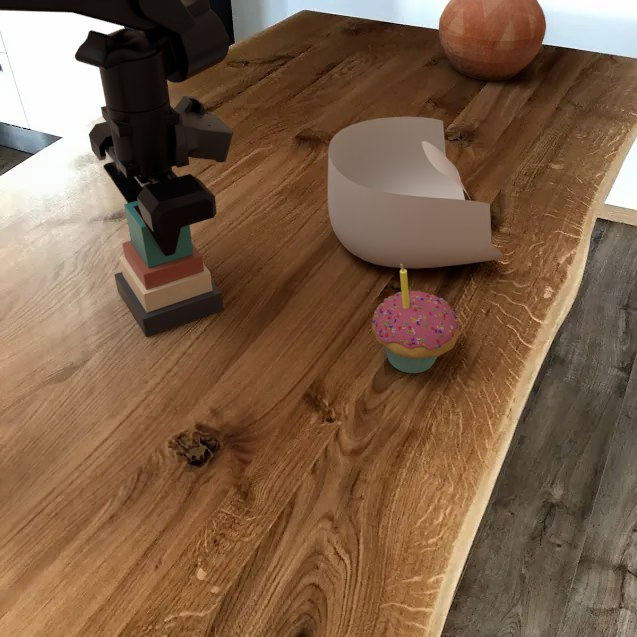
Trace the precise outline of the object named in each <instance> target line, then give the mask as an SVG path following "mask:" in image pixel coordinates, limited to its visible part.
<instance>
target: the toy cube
mask: <svg viewBox="0 0 637 637" xmlns="http://www.w3.org/2000/svg"><path fill="white" fill-rule="evenodd" d="M137 205H138V201H135V202H131V203H127V202H126V203H124V205H123V207H124V212H125V216H126V223H127V227H128V232H129V237H130V241H131V244H132V245H133V247H134V248H135V250H136V251H137V253H138V254H139V256H140V257H141V258H142V260H143V261H144V263H145V264H146V266H147V267H148V268H151V267H154V266H157V265H161V264H164V263H167V262H170V261H173V260H176V259H180V258H183V257H186V256H189V255H192V254H193V248H192V244H193V240H192V234H191V225H188V226H184V227H181V231H180V235H179V239H178V244H177V248H176V252H175V254H173V255H170V256H165V255H164V254H163V252H162V251H161V249H160V248H159V246H158V245H157V243H156V242H155V240H154V238H153V237H152V235H151V234H150V232H149V231H148V229H147V228H146V226H145V225H144V223H143V222H142V220H141V219H140V217H139V216H138V214H137V213H136V211H135V210H134V208H133V207H134V206H137Z"/></svg>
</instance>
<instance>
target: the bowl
mask: <svg viewBox="0 0 637 637" xmlns="http://www.w3.org/2000/svg"><path fill="white" fill-rule="evenodd" d="M445 141H446V140H445V128H444V120H442V119H438V118H432V117H424V116H391V117H380V118H379V117H378V118H374V119H373V118H372V119H368V120H364V121H359V122H356V123H353V124H351V125H350V124H349V125H348V126H346V127H344V128H341V129H340V130H339V131H338V132H337V133H336V134H334V136H333V137H332V138H331V140H330V142H329V145H328V151H327V152H328V153H327V155H328V156H327V208H328V217H329V222H330V225H331V227H332V229H333V233H334V234H335V237H336V239H338V240H339V242H340V243H341V245H342V246H343V247H344V248H345V249H346V250H347V251H349V252H350V253H351V254H352V255H354V256H355V257H357V258H359V259H361V260H362V261H365V262H368V263H371V264H373V265H377V266H382V267H387V268H396V269H401V265H400V264H402V265H403V269H430V268H432V269H433V268H441V267H451V266H452V267H453V266H460V265H468V264H475V263H482V262H489V261H490V262H491V261H498V260H503V258H504V254H503V252H502V251H501V250H500V249H499V248H497V247H496V246H494V245H492V224H491V223H492V222H491V221H492V220H491V203H489V202H484V201H477V200H472V199H471V198H470V195H469V193H468V192H467V190H466V188H465V186H464V185H463V183H462V179H461V175H460V173H459V170H458V168H457V167H456V165H455V164H454V163H453V162H452V161H451V160H450V159H449V158H448V157H447V155H446V154H447V153H446V142H445ZM464 192H465V194H466V195H467V197H468V198H469V200H468V199H466V197H465V194H464Z"/></svg>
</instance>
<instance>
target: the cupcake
mask: <svg viewBox="0 0 637 637" xmlns="http://www.w3.org/2000/svg"><path fill="white" fill-rule="evenodd" d="M400 265H401V268H400V270H399V278H400V289H401V291H398V292H395V293H393V294H391V295H389V296H388V297H387V298H384V299H383V301H381V303H379V304H378V305H377V307H376V309H375V310H374V314H373V318H372V323H371V328H372V332H373V333H374V335H375V338H376V340H377V342H378V343H379V344H380V345H381V346H383V347H384V350H385V352H386V356H387V360H388V361H389V364H391V366H393V368H394V369H396V370H398V371H400V372H403V373H405V374H419V373H424V372H426V371H428V370H429V369H431V367H432V366H434V364H435V362H436V360H437V358H438V357H440V356H441V355H444V354H445V353H448V351H450V350H452V349H453V348H454V347H455V346H456V343H457V340H458V338H459V335H460V324H459V319H458V317H457V314H456V310H455V309H453V307H452V306H450V304H449V302H447V301H446V300H444V298H443V297H439V295H434V294H435V293H433V294H432V293H428V292H424V291H421V290H409V281H408V280H409V279H408V270H407V268H403V265H402V264H400Z"/></svg>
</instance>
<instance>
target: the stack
mask: <svg viewBox="0 0 637 637" xmlns="http://www.w3.org/2000/svg"><path fill="white" fill-rule="evenodd" d="M121 244H122V245H121V246H122V250H123V254H124V255H123V256H119V263H120V268H121V271H120V272H117V273H114V279H115V283H116V284H115V285H116V288H117V293H118V294H119V296H120V297H121V299H122V300H123V302H124V304H125V305H126V307H127V309H128V310H129V312H130V314H131V315H132V317H133V318H134V320H135V322H136V323H137V325H138V327H139V328H140V330H141V331H142V333H143V335H144V337H146V338H147V337H151V336H153V335H156V334H159V333H162V332H164V331H167V330H170V329H173V328H176V327H178V326H181V325H185V324H187V323H190V322H194V321H195V320H199V319H201V318H204V317H207V316H211V315H213V314H216V313H218V312H221V311H223V310H224V303H223V294H222V293H223V292H222V291H221V289H219V287H218V286H217V284H216V283H215V282H214V281H213V279H212V274H211V271H210V270H209V268H208V267H207V266H206V265H205V263H204V259H203V258H204V257H203V255H202V254H201V253H200V251H199V250H198V249H197V247H196V246H195V245H194V244H193V243H192V248H193V254H192V255H189V256H186V257H183V258H180V259H176V260H173V261H170V262H167V263H164V264H161V265H157V266H154V267H151V268H148V267H147V266H146V264H145V263H144V261H143V260H142V258H141V257H140V256H139V254H138V253H137V251H136V250H135V248H134V247H133V245H132V244H131V240H129V241H125V242H122V243H121Z"/></svg>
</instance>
